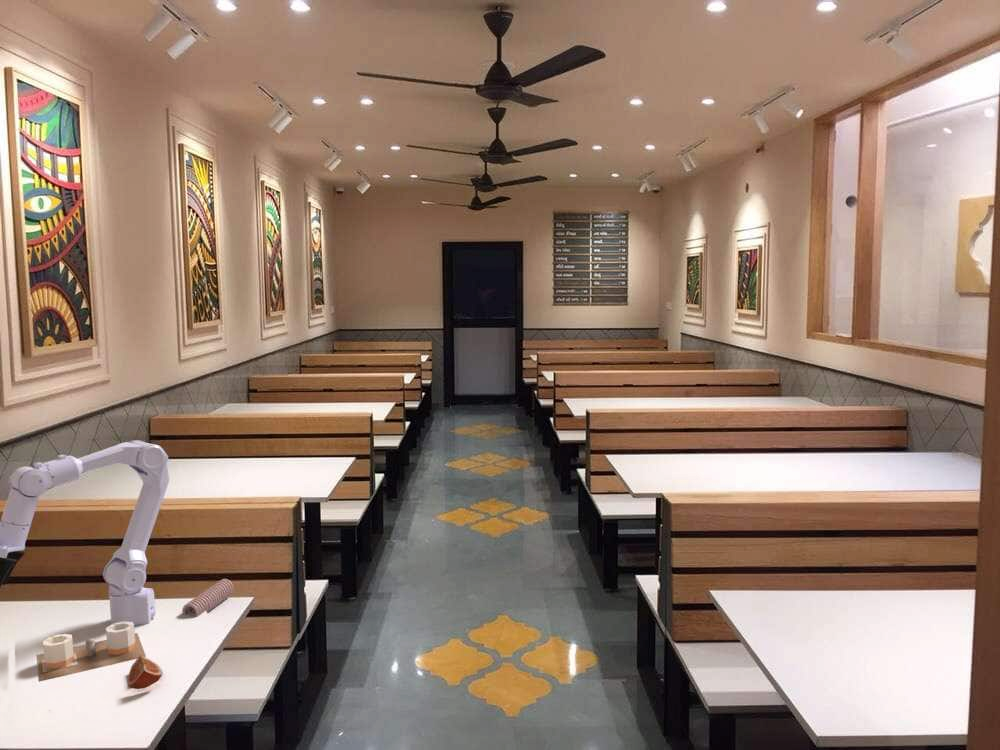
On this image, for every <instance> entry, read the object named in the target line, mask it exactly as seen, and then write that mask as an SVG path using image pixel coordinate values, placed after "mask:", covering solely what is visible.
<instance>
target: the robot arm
mask: <svg viewBox="0 0 1000 750" xmlns="http://www.w3.org/2000/svg"><path fill="white" fill-rule="evenodd" d="M168 460H169V455H167V452H165V450H164V449H163V447H161V445H158V444H154V443H148V442H146V441H145V442H144V441H143V440H139V439H136V440H131V441H126V442H124V441H123V442H121V443H118V444H116V445H113V446H110V447H106V448H105V449H102V450H99V451H95V452H93V453H89V454H87V455H83V456H81V457H78V458H76V457H74V456H73V455H66V454H60V455H57V458H56V459H53V460H48V461H45V462H40V461H39V462H36V463H34V466H33V467H31V466H22V467H21V466H20V467H19V468H17V469H16V470H15V471H13V473H12V474H11V475H10V476H9V477H8V485H9V487H10V491H9V494H8V497H7V499H6V503H5V505H4V509H3V512H2V516H1V518H0V588H1V587H2V585H3V586H5V585H6V583H7V582H8V580H9V578H10V577H11V576H12V575H11V574H13V571H14V569H15V567H16V565H17V564H18V563H19V561H20V560H21V558H23V557H24V556H25V554H26V552H25V548H26V541H27V540H28V539H27V538H28V535H29V532H30V529H31V526H32V522H33V520H34V519H33V518H34V515H35V513H36V508H37V506H38V501H39V499H40V497H41V496H42V495H43V494H44V493H45V492H46V491H47V490H49V489H52V488H55V487H58V486H63V485H65V484H68V483H70V482H71V483H72V482H74V481H78V480H79V479H80V477H81V476H82V474H83V473H85V472H88V471H93V470H96V469H99V468H104V467H107V466H111V465H114V464H122V465H123V464H124V465H128V466H129V467H131V469H133V470H134V471H135V472H136V473H137V475H138V476H139V478H140V480H141V481H142V482H143V483H142V486H141V488H140V492H139V495H138V498H137V500H136V503H135V506H134V509H133V511H132V515H131V517H130V520H129V524H128V527H127V529H126V532H125V535H124V538H123V541H122V544H121V547H119V548H118V549H117V550H115V552H113V554H112V557H111V559H110V561H109V562H108V563H106V565H105V567H104V569H103V572H102V576H103V577H102V578H103V579H104V581H105V582H106V583H107V584H109V589H108V597H109V608H110V622H111V623H110V625H112V624H114V623H119V622H124V621H125V622H133V624H134V626H137V625H148V624H150V622H151V621H152V620H154V619H155V617H156V602H155V601H156V600H155V591H154V589H153V588H149V587H144V585H145V583H146V580H147V572H146V569H147V566H148V559H147V557H146V550H147V546H148V544H149V540H150V538H151V535H152V532H153V529H154V526H155V525H156V520H157V518H158V514H159V512H160V509H161V506H162V503H163V500H164V498H165V495H166V491H167V489H168V485H169V482H170V476H169V475H170V474H169V468H168Z"/></svg>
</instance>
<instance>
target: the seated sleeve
mask: <svg viewBox="0 0 1000 750" xmlns="http://www.w3.org/2000/svg"><path fill="white" fill-rule="evenodd" d="M135 629H136V628H135V625H134V624H133V622H125V621H124V622H119V623H114V624H110V625H109V626H106V627H105V635H106V640H107V650H108V653H109V654H115V655H119V654H123V653H127V652H130V651H131V650H133V649H134V648H136V642H135Z"/></svg>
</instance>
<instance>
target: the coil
mask: <svg viewBox="0 0 1000 750" xmlns="http://www.w3.org/2000/svg"><path fill="white" fill-rule="evenodd" d="M233 592H234V585H233V583H232V581H231V580H229V579H227V578H222V579H221V580H219V581H218V582H216V583H214V584H213V585H212V586H210V587H209V588H207V589H205V590H204V591H202V593H200V594H199V595H198V596H197V595H196V597H194V598H192V599H191V600H189V602H187V603H186V604H185V605H183V607H182V611H181V614H182V615H183V616H185V615H187V614H188V613H189V612H191V611H192V610H194V612H195V617H199V616H200V615H202V614H203V613H204V612H206V613H209V612H210V611H212V609H214V608H215V607H216V606H218V605H219V604H221V603H222V602H223V601H225V600H226V599H227V598H228V597H230V596H231V595H232V594H233Z"/></svg>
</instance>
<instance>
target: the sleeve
mask: <svg viewBox="0 0 1000 750" xmlns="http://www.w3.org/2000/svg"><path fill="white" fill-rule="evenodd" d="M73 647H74V640H73V635H72V634H67V633H61V634H60V633H59V634H56V635H52V636H49V637H48V638H46V639H44V640H42V649H43V653H44V662H45V668H51V669H55V668H60V667H64V666H67V665H69V664H70V663H72V662H74V650H73Z"/></svg>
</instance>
